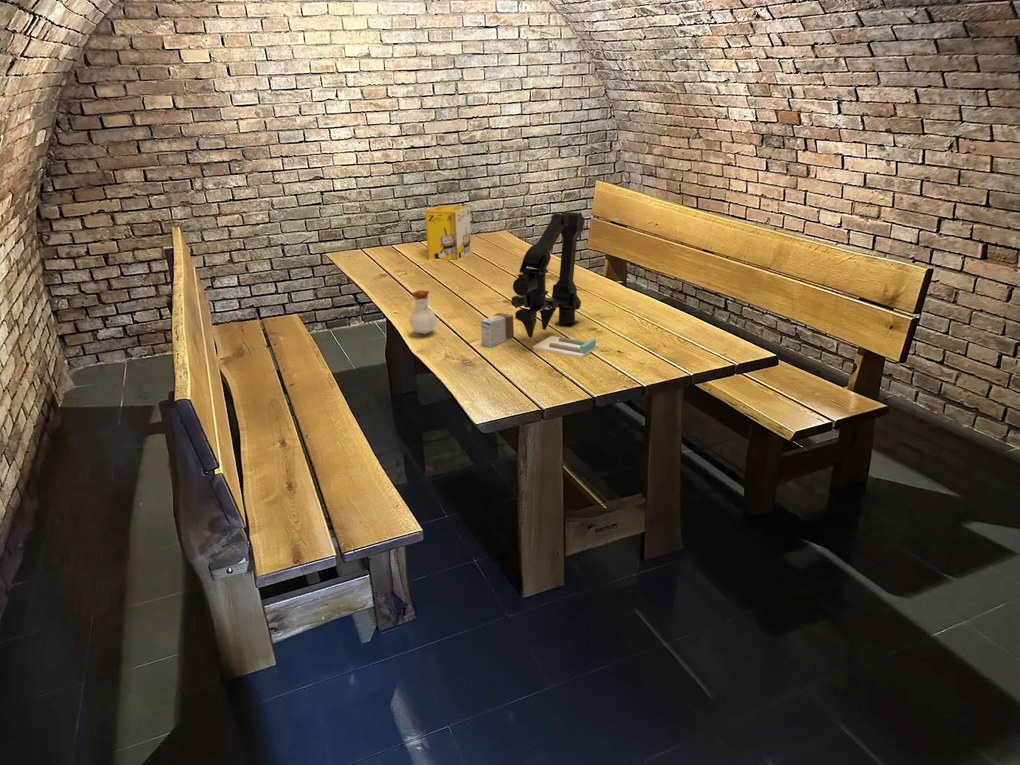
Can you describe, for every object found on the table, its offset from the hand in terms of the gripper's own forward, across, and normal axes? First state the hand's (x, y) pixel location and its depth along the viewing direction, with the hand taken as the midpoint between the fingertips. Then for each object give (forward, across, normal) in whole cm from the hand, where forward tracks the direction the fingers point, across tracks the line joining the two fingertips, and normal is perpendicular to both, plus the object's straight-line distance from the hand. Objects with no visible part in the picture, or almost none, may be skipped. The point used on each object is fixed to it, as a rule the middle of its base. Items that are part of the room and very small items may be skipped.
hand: (537, 333), depth 246 cm
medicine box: (+4, +7, -13) cm, 15 cm away
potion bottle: (+4, +11, -40) cm, 42 cm away
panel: (0, 0, -16) cm, 16 cm away
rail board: (+4, 0, +11) cm, 12 cm away
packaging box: (+4, -85, -101) cm, 133 cm away
